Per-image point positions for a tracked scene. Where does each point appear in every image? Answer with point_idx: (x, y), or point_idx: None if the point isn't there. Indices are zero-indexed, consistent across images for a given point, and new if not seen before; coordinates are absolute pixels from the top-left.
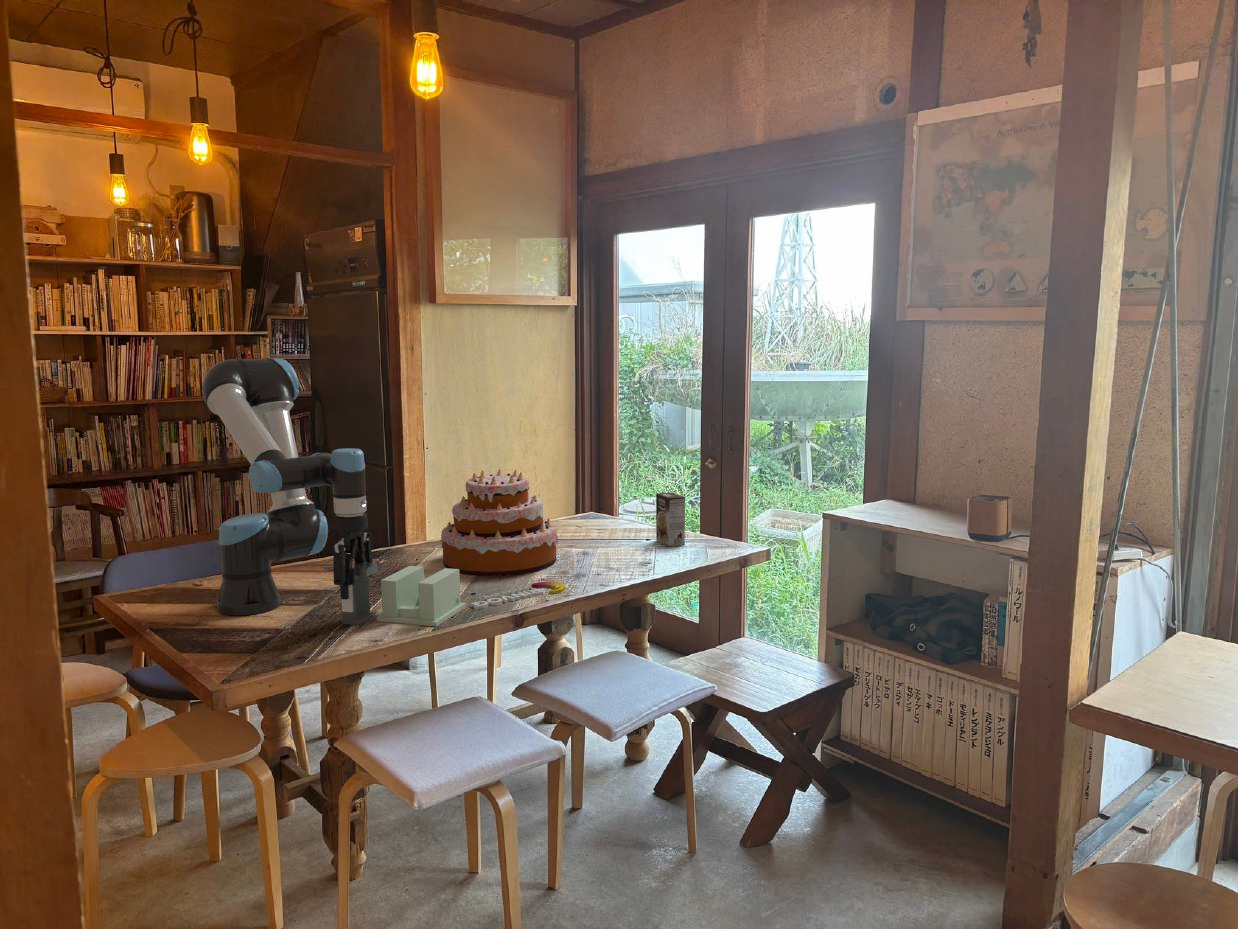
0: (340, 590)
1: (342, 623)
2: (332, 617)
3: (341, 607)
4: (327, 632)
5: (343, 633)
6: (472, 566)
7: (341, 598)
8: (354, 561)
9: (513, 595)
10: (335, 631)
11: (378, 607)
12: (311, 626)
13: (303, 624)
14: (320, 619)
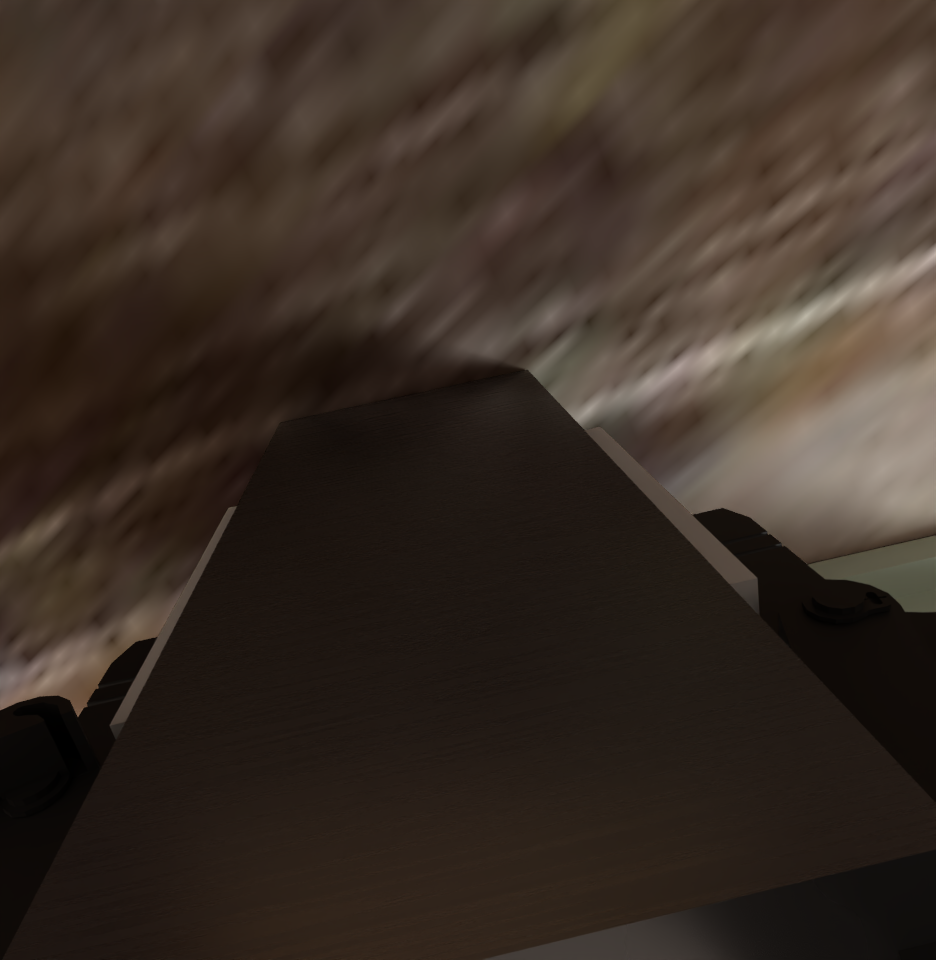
0: (192, 596)
1: (280, 427)
2: (392, 150)
3: (249, 485)
4: (18, 484)
5: (96, 627)
6: None
7: (130, 651)
8: (926, 919)
9: None
10: (88, 528)
11: (848, 359)
12: (33, 173)
13: (17, 11)
14: (268, 67)
